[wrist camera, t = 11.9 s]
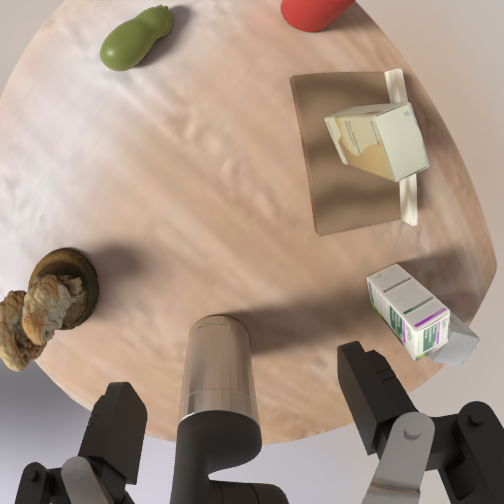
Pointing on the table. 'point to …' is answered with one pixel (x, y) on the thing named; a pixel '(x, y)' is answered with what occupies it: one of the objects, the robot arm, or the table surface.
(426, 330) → the syrup box
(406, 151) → the skincare box
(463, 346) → the skincare box
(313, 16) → the beer can
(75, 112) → the table surface
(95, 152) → the table surface
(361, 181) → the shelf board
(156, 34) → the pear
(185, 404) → the robot arm
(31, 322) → the brown lumpy upright piece
